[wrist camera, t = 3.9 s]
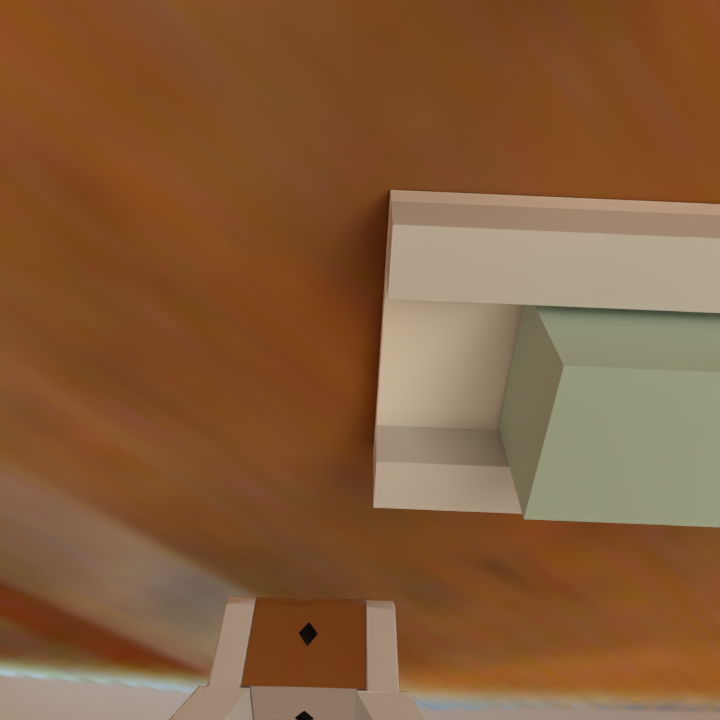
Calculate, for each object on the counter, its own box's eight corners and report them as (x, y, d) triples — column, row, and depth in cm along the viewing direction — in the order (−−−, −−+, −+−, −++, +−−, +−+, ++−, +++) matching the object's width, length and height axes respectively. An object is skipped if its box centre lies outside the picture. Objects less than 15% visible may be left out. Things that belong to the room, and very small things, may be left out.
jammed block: (736, 298, 17) (826, 377, 14) (680, 434, 20) (743, 528, 16) (526, 288, 17) (563, 365, 14) (498, 426, 20) (523, 519, 16)
